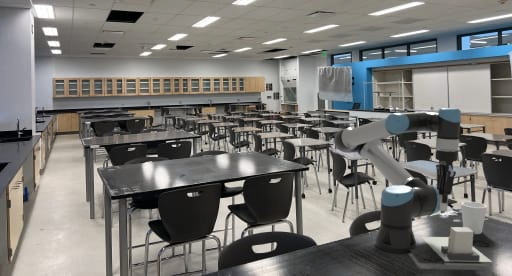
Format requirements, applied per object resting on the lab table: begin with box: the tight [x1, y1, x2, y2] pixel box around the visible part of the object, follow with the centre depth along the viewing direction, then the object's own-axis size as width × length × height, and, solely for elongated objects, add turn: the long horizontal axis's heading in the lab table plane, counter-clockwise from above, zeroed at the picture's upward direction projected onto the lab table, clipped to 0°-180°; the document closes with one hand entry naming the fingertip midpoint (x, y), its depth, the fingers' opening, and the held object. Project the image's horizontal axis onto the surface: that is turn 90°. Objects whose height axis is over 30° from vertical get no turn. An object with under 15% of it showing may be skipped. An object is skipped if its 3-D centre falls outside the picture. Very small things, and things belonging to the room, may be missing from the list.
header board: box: [421, 236, 493, 267], centre depth 143 cm, size 16×23×4 cm
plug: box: [448, 226, 476, 254], centre depth 135 cm, size 8×4×10 cm, turn 86°
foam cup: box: [460, 201, 488, 235], centre depth 160 cm, size 10×9×13 cm
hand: (442, 210), depth 144 cm, fingers closed
